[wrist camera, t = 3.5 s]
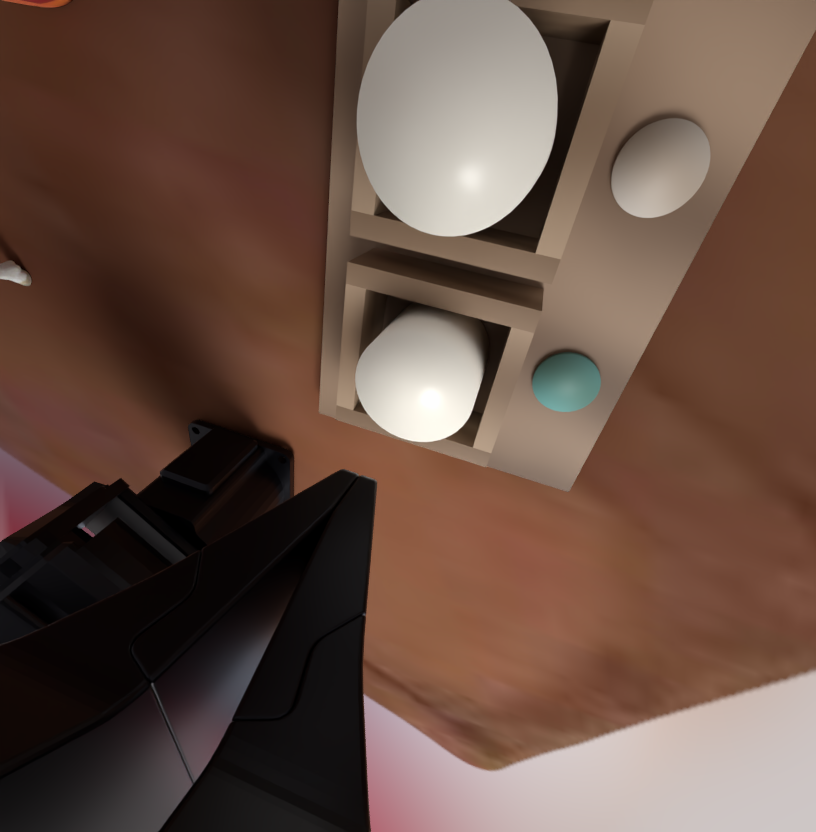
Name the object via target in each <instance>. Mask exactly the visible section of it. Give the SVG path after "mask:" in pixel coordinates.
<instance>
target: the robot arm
mask: <svg viewBox="0 0 816 832" xmlns="http://www.w3.org/2000/svg"><path fill="white" fill-rule="evenodd" d="M188 429H189V435H190V441H191V447H189V448H188V449H187V450H186V451H184V452H183V453H182V454H181V455H179V456H178V457H177V458H176V459H174V460H173V461H172V462H171V463H169V464H168V465H167V466H166V467H165V468H163V469H162V470H161V471H160V476H159V477H158V478H157V479H155V480H154V481H153V482H152V483H150V484H149V485H148V486H147V487H145V488H144V489H143V490H142V491H141V492H139V493H138V494H137V495H136V494H135V493H134V492H133V491H132V490H131V489H129V488H128V487H129V485H128V484H127V483H126V482H125V481H124V480H123V479H122V478H120V479H119V480H117V481H116V482H114V483H113V484H111V485H110V486H109V485H104V484H101V483H97V482H93V483H92V484H90V485H89V486H88V487H86V488H85V489H83V490H82V491H81V492H79V493H78V494H76V495H75V496H73V497H72V498H71V499H69V500H68V501H66V502H65V503H63V504H62V505H60V506H59V507H57V508H56V509H54V510H52V511H51V512H49V513H47V514H46V515H44V516H42V517H40V518H39V519H37V520H35V521H34V522H32V523H31V524H29V525H27V526H25V527H24V528H22V529H20V530H19V531H17V532H15V533H13V534H12V535H10V536H9V537H7V538H6V539H4V540H2V541H1V542H0V832H371V828H370V816H369V801H368V782H367V760H366V739H365V719H364V696H363V655H364V635H365V624H366V609H367V598H368V586H369V574H370V562H371V550H372V539H373V527H374V515H375V503H376V491H377V481H376V480H375V479H372V478H369V477H366V476H363V475H361V476H359V475H358V474H357V473H354V472H351V471H348V470H345V469H341V470H339V471H337V472H335V473H334V474H332V475H330V476H328V477H327V478H325V479H323V480H321V481H320V482H318V483H316V484H314V485H313V486H311V487H309V488H307V489H305V490H304V491H302V492H300V493H298V494H297V495H295V496H294V457H293V454H292V453H291V452H290V451H289V450H287V449H285V448H282V447H279V446H276V445H273V444H270V443H267V442H264V441H261V440H258V439H255V438H252V437H249V436H246V435H243V434H240V433H237V432H234V431H231V430H228V429H225V428H222V427H219V426H216V425H213V424H210V423H207V422H204V421H201V420H194V421H193V422H192V423H190V424H189V425H188ZM283 457H284V458H283ZM83 527H87V528H88V529H89V530H90V531H91V532H93V533H94V534H95V536H94V537H91V536H90V535H89V534H88V533H86V532H85V531H83V530H82V528H83Z"/></svg>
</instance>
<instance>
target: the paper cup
mask: <svg viewBox="0 0 816 832" xmlns="http://www.w3.org/2000/svg"><path fill="white" fill-rule="evenodd" d="M3 1H9V2H14V3H19V4H25V5H31V6H38V7H49V8H53V7H61V6H64V5H66V4H68V3H70V2H71V1H72V0H3Z"/></svg>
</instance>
